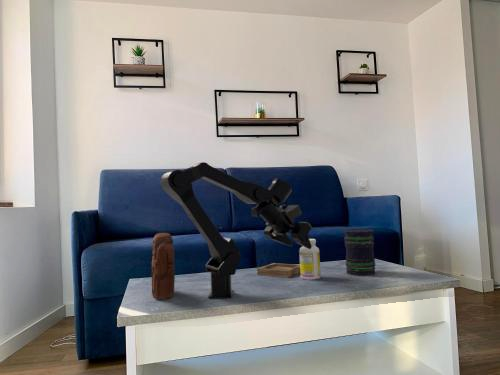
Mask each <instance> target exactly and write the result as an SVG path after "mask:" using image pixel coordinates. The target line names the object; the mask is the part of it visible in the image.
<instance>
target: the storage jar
mask: <svg viewBox="0 0 500 375" xmlns="http://www.w3.org/2000/svg"><path fill="white" fill-rule="evenodd" d="M374 241H375V237H374V229H369V228H351V229H344V247H345V253H346V254H345V256H346V257H345V267H346V268H345V269H346V272H345V273H346V274H347V275H348V276H355V277H371V276H375V275H376V262H375V261H376V260H375V252H374V246H375V242H374Z"/></svg>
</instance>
